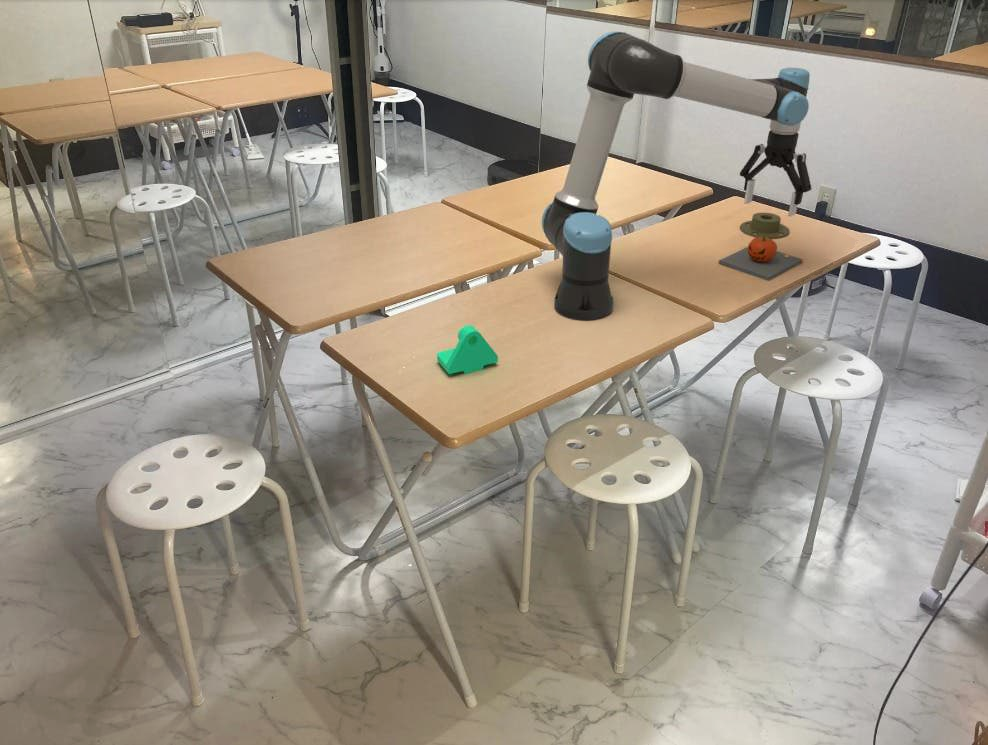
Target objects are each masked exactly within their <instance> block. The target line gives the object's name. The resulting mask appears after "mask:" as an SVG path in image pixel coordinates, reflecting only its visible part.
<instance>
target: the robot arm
mask: <svg viewBox="0 0 988 745" xmlns="http://www.w3.org/2000/svg"><path fill="white" fill-rule="evenodd" d="M587 64H588V65H587V66H588V69H589V72H590V73H589V76H588V80H587V83H586V88H587V90H588V92H589V98H588V102H587V105H586V109H585V112H584V116H583V120H582V123H581V125H580V126H581V127H580V129H579V133H578V136H577V140H576V144H575V147H574V150H573V153H572V158H571V161H570V164H569V168H568V171H567V175H566V177H565V181H564V185H563V188H562V189H561V190H559V191H557V192H556V193H555V195H554V198H553V200H552V202H551V203H550V204H548V205H547V206H546V207H545V209H544V212H543V214H542V217H541V227H542V231H543V233H544V235H545V237H546V239H547V240H548V242H549V243H550V244H551V245H553V247H554V248H555V249H556V250H557V251H558V252H559V254H560V255H561V256H562V269H561V270H562V274H561V279H560V283H559V285H558V288H557V291H556V293H555V294H554V304H553V308H554V310H555V311H556V312H557V314H560V315H561V316H563V317H566V318H568V319H573V320H579V321H593V320H600V319H603V318H605V317H607V316H609V315H610V314H612V312H613V311H614V303H615V302H614V301H615V300H614V296H613V295H612V292H611V288H610V287H611V286H610V283H609V282H610V281H609V274H610V272H609V271H610V265H611V264H610V261H611V249H612V241H613V234H612V225H611V223H610V222H609V220H608V219H606V217H604V216H602V215H601V214H598V215H597V212H598V210H599V204H598V202H597V200H596V196H597V193H598V190H599V187H600V184H601V180H602V176H603V174H604V171H605V168H606V163H607V161H608V158H609V154H610V152H611V150H612V149H611V148H612V145H613V142H614V139H615V135H616V132H617V130H618V126H619V123H620V119H621V117H622V114H623V110H624V107H625V105H626V104H628V102H630V101H632V100H634V95H640V96H641V95H642V96H648V97H656V98H660V99H664V100H669V99H671V98H673V97H677V98H681V99H685V100H688V101H693V102H698V103H702V104H706V105H709V106H713V107H718V108H722V109H726V110H730V111H735V112H739V113H743V114H747V115H751V116H756V117H759V118H763V119H766V120H770V124H769V129H770V130H769V131H768V135H767V141H766V144H767V145H766V146H765V145H764V144H763V143H760V144H758V145H757V144H756V145H755V147H754V150H753V153H752V154H751V156H750V157H749V159H748V161H747V162H746V163H745V164H744V166H743V167H742V169H741V171H739V176H740V177H743V178H744V179H745V180H744V185H743V186H744V187H743V191H745V195H744V200H743V204H745V205H747V204H750V203H752V202H753V196H754V192H755V191H754V189H755V185H756V178H755V177H756V176H757V175H758V174H759V173H760V172H761V171H762V170H764V169H765V168H766V167H767V166H768V165H770V167H771V166H772V167H777V168H780V169H783V170H784V172H785V173H786V175H787V176H788V179H789V181H790V182H791V185H792V186H793V189H794V192H792V194H791V198H790V204H789V209H788V214H787V217H793V216H795V215H796V214H797V209H798V206H799V205H801V203H802V201H803V196H804V195H803V194H804V193H808V192H809V191H811V190H812V184H811V181H810V180H811V179H810V176H809V175H810V174H809V171H808V167H807V163H806V161H807V153H804V152H803V153H796V147H797V146H798V139H799V136H800V135H799V134H800V133H798V132H799V131H800V130H801V123H802V121H804V120H805V118H806V116H807V115H808V111H809V109H810V108H809V107H810V106H809V101H808V98H807V94H808V90H809V84H810V77H811V76H810V75H811V74H810V72H809V71H808V70H807V69H804V68H800V67H785V68H782V69H780V70H779V73H778V76H777V77H775V78H754V79H753V78H752V79H751V78H746V77H742V76H740V75H736V74H731V73H728V72H725V71H722V70H721V71H720V70H717V69H712V68H709V67H705V66H701V65H697V64H694V63H690V62H686V61H684V59H683V56H681V55H679V54H675V53H672V52H670V51H667V50H665V49H662V48H660V47H658V46H656V45H654V44H653V43H650V42H649V41H648V40H647V41H646V40H645V39H643V38H639V37H638V36H637V37H636V36H635V35H632V34H630V33H627V32H625V31H623V32H622V31H608V32H606V33H604V34H602V35H600V36H599V37H598V38H597V39H596V40H595V41H594V42H593V44H592V45H591V47H590V49H589V51H588V56H587ZM762 154H764V155H765V158H764V159H762V160H761V162H760V163H759V164H758V165H756V166H755V167H754V165H755V164H756V163H757V161H758V160H759V158H760V157H761V155H762ZM794 160H795V161H794ZM794 162H795V163H796V168H797V171H796V168H795V164H794ZM753 167H754V168H753ZM752 168H753V169H752Z"/></svg>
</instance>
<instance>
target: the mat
mask: <svg viewBox="0 0 988 745" xmlns="http://www.w3.org/2000/svg"><path fill="white" fill-rule="evenodd" d="M803 260H804V259H803V258H799V257H796V256H793V255H791V254H790V255H789V254H787V253H784V252H781V251H778V250H777V252H776V254H775V255H774V257H773V258H772V259H771V260H770V261H766V262H758V261H755V260H753V259H752V258H751V257H750V256H749V254H748V246H745V247H744V248H742V249H741V250H738V251H736V252H734V253H732V254H729V255H728V256H726V257H723V258H721V259H719V260H718V264H719V265H722V266H725V267H728V268H730V269H733V270H736V271H739V272H742V273H745V274H748V275H751V276H754V277H756V278H759V279H763V280H766V281H771V280H772V279H774V278H776V277H778V276H781V274H783V273H786V272H787V271H789V270H791V269H793V268H795V267H797V266H798V265H800V264H802V263H803Z"/></svg>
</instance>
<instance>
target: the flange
mask: <svg viewBox="0 0 988 745" xmlns="http://www.w3.org/2000/svg"><path fill="white" fill-rule="evenodd" d="M781 221H782V218H781V216H780V215H778V214H775V213H771V212H755V213H754V214H752V218H751V220H747V221H743V222H742V223H741V224H740V225H739V230H740V231H741V232H742V233H743V234H745V235H747V236H749V237H753V238H758V237H764V236H765V237H767V238H769V239H772V240H777V239H783V238H786V237H788V236H789V235H790V232H791V231H790V230H791V229H790V228H789V227H788V226H786V225H784V224H782V223H781Z"/></svg>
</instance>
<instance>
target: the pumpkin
mask: <svg viewBox="0 0 988 745" xmlns="http://www.w3.org/2000/svg"><path fill="white" fill-rule="evenodd" d="M747 247H748V254H749V256H750V257H751V258H752V259H753V260H755V261H758V262H766V261H770V260H771V259H772V258H773V257H774V255H775V254H776V252H777V251H778V245H777V243H776V241H775V240H774V239H769V238H767V237H765V236H764V237H758V238H756V237H753V238H752V240H751V241H750V242H749V243H748V245H747Z"/></svg>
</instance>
